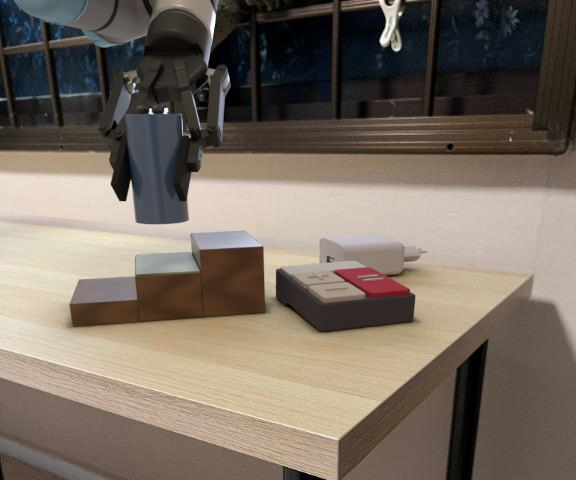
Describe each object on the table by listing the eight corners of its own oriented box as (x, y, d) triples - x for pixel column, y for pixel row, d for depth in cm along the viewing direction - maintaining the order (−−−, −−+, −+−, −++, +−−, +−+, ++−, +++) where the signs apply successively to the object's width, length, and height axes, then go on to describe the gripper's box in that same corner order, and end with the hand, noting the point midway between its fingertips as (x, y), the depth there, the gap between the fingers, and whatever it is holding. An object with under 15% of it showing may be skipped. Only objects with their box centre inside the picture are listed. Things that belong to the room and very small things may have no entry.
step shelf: (72, 326, 65) (62, 256, 62) (81, 299, 76) (72, 238, 73) (265, 312, 69) (263, 246, 67) (247, 288, 80) (245, 230, 77)
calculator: (321, 297, 61) (274, 262, 74) (320, 338, 63) (274, 296, 75) (418, 288, 64) (357, 255, 77) (414, 326, 66) (355, 289, 79)
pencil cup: (145, 217, 72) (134, 106, 67) (195, 217, 71) (187, 105, 67) (127, 224, 66) (114, 104, 62) (180, 224, 66) (171, 103, 61)
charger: (438, 273, 88) (342, 281, 84) (408, 261, 96) (319, 268, 92) (441, 239, 86) (343, 246, 82) (410, 230, 94) (319, 236, 90)
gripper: (92, 11, 71) (47, 168, 62) (253, 4, 68) (230, 166, 60) (115, 67, 78) (77, 215, 69) (262, 62, 75) (243, 215, 67)
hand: (149, 192), depth 64 cm, fingers closed on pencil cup, 6 cm apart
